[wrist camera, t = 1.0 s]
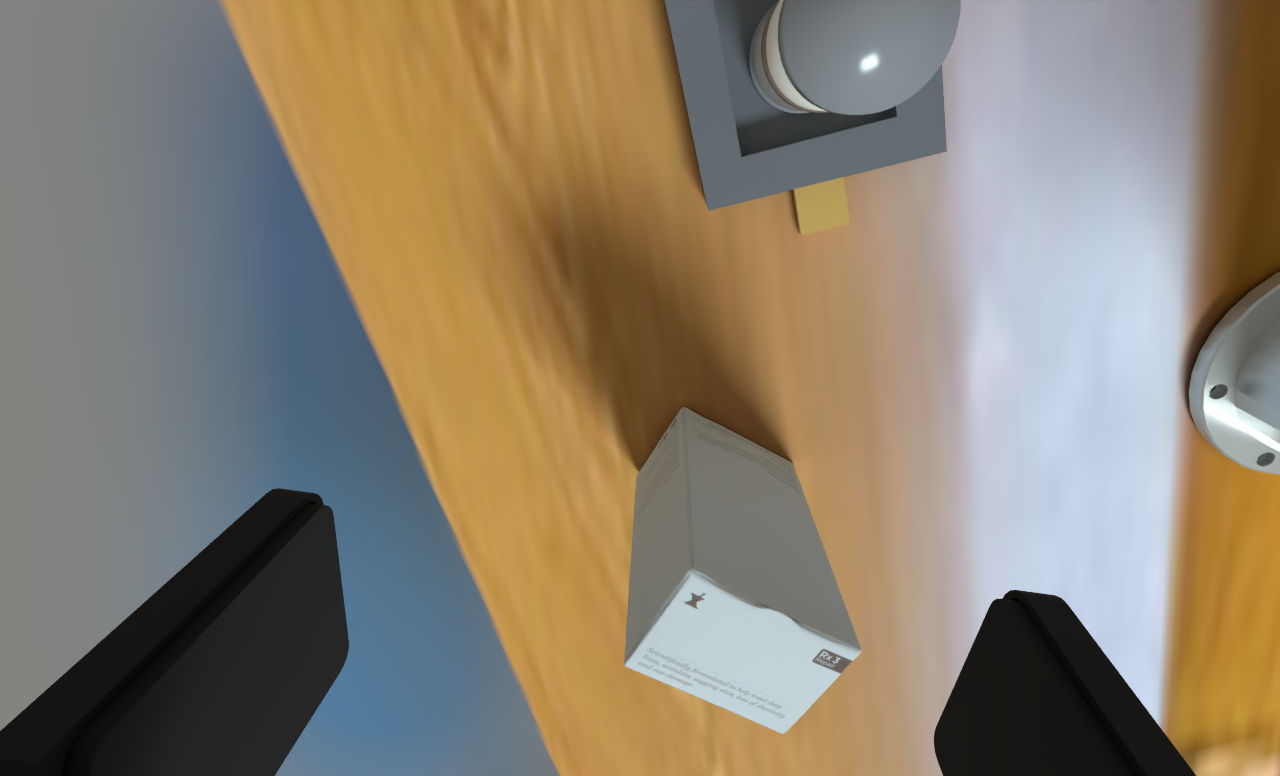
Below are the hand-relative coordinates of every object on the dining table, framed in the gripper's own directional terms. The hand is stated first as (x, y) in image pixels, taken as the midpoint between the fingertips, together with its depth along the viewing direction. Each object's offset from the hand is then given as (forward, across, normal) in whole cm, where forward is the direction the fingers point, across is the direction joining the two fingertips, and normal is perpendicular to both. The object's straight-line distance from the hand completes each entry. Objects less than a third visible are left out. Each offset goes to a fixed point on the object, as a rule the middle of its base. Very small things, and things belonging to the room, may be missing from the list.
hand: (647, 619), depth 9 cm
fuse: (+26, -4, -9) cm, 28 cm away
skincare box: (+27, -4, +13) cm, 30 cm away
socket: (+26, -5, -8) cm, 28 cm away
